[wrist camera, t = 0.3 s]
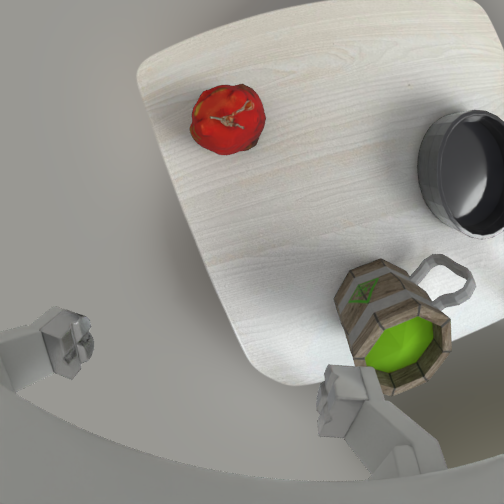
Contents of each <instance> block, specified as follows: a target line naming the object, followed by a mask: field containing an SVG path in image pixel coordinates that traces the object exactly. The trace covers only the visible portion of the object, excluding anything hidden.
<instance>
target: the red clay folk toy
mask: <svg viewBox="0 0 504 504" xmlns="http://www.w3.org/2000/svg"><path fill="white" fill-rule="evenodd" d="M265 120H266V116H265V113H264V108H263V105H262V102H261V100H260V98H259V96H258V95H257V93H256V92H255V91H254V90H253V89H252V88H250V87H248V86H246V85H244V84H239V85H235V86H230V85H220V86H217V87H214V88H212V89H210V90H206V91H204V92H203V93H202V94H201V95H200V97H199V99H198V101H197V103H196V104H195V106H194V108H193V112H192V124H191V126H190V133H191V135H192V137H193V139H194V140H195V141H196V142H197V143H198V144H199V145H201V146H202V147H204V148H206V149H208V150H210V151H213V152H215V153H217V154H220V155H230V154H234V153H237V152H239V151H247V150H249V149H251V148H252V147H254V146H256V144H257V142H258V140H259V136H260V134H261V132H262V130H263V128H264V125H265Z"/></svg>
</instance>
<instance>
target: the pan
mask: <svg viewBox="0 0 504 504" xmlns="http://www.w3.org/2000/svg"><path fill="white" fill-rule="evenodd" d="M418 178H419V184H420V188H421V192H422V194H423V197H424V199H425V201H426V203H427V205H428V207H429V208H430V210H431V211H432V212H433V214H434V215H435V216H436V217H437V218H438V219H439V220H441V221H442V222H444V223H445V224H447V225H449V226H451V227H452V228H454V229H456V230H458V231H460V232H462V233H464V234H465V235H467V236H469V237H472V238H477V239H486V238H492V237H494V236H496V235H498V234H500V233H501V232H503V231H504V122H503V121H502V120H501V119H500V118H499V117H498V116H496V115H494V114H492V113H489V112H487V111H482V110H470V111H463V112H457V113H453V114H449V115H446V116H443V117H441V118H440V119H438V120H437V121H436V122H435V123H434V124H433V125H432V126H431V127H430V128H429V129H428V131H427V133H426V134H425V136H424V138H423V141H422V143H421V147H420V150H419V156H418Z"/></svg>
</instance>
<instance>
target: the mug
mask: <svg viewBox="0 0 504 504" xmlns="http://www.w3.org/2000/svg"><path fill="white" fill-rule="evenodd" d="M437 265H444V266H446V267H447V268H449V269H450V270H451V271H453V272H454V273H455V274H457V275H459V276H461V277H463V278H465V279H466V280H467V281H466V283H465V285H464V287H463V288H462V289H460V290H458V291H456V292H455V293H449V294H444V295H442V296H439V297H438V298H437V299H435V300H434V301H433V302H432V300H431V299H430V297H429V296H428V294H427V293H426V291H424V290H423V289H422V288H420V287H419V286H418V284H419V283H420V282H421V281H422V280H423V278H424V277H425V276H426V275H427V273H428V272H429V271H430V269H432V268H433V267H435V266H437ZM475 288H476V284H475V281H474V278H473V276H472V274H471V272H470V271H469V269H468V268H466V267H464V266H462V265H460V264H458V263H456V262H454V261H453V260H451V259H450V258H448V257H447V256H445V255H443V254H432V255H431V256H429V257H427V258H426V259H424V260H423V262H422V263H421V264H420V266H419V267H418V268H417V269H416V270H415V271H414V273H413V274H412V275H411V276H409V274H408V273H407V271H405V270H403V269H401V268H399V267H397V266H395V265H393V264H391V263H389V262H387V261H385V260H383V259H378V260H376V261H373V262H371V263H368V264H365V265H363V266H360V267H357V268H355V269H352V270H350V271H349V272H348V274H347V276H346V278H345V280H344V282H343V283H342V285H341V287H340V289H339V290H338V292H337V294H336V296H335V297H334V302H335V305H336V308H337V311H338V314H339V318H340V321H341V324H342V326H343V328H344V331H345V334H346V338H347V341H348V344H349V348H350V351H351V354H352V356H353V360H354V364H355V366H356V367H358V366H365V367H373V368H374V369H375V372H376V375H377V378H378V381H379V383H380V387H381V390H382V393H383V394H386V395H390V396H394V395H396V394H399V393H401V392H404V391H406V390H409V389H411V388H414V387H416V386H418V385H421V384H423V383H425V382H428V381H429V379H430V378H431V377H432V376H433V374H434V373H435V372H436V371H437V369H438V368H439V367H440V366H441V364H442V363H443V362H444V360H445V359H446V357H447V356H448V355H449V353H450V352H451V350H452V349H451V319H450V318H449V317H448V316H446V315H445V314H444V313H443V312H441V311H442V310H443V309H444V308H446V307H450V306H456V305H460V304H461V303H463V302H465V301H466V300H468V299H470V297H471V295H472V293H473V291H474V290H475Z"/></svg>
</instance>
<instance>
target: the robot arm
mask: <svg viewBox="0 0 504 504" xmlns="http://www.w3.org/2000/svg"><path fill="white" fill-rule="evenodd" d="M90 328H91V324H90V320H89V319H88V318H87V317H86V316H83V315H80V314H77V313H75V312H72V311H69V310H65V309H62V308H60V307H57V306H55V307H52V308H51V309H49V310H48V311H47V312H45V313H44V314H43V315H42V316H41V317H39V318H38V319H37V320H36V321H35V322H33V323H32V324H31V325H30V326H27V325H25V326H20V327H17V328H13V329H9V330H5V331H1V332H0V504H504V454H501V455H498V456H495V457H492V458H488V459H485V460H482V461H478V462H475V463H471V464H467V465H463V466H459V467H455V468H450V469H448V468H447V466H446V462H445V459H444V457H443V454H442V451H441V448H440V445H439V443H438V441H437V440H436V439H435V438H434V437H433V436H431V435H430V434H429V433H428V432H426V431H425V430H424V429H423V428H421V427H420V426H419V425H418V424H417V423H415V422H414V421H413V420H412V419H411V418H409V417H408V416H407V415H406V414H404V413H403V412H402V411H401V410H400V409H398V408H397V407H396V406H395V405H393V404H392V403H391V402H390V401H385V399H384V396H383V393H382V390H381V387H380V383H379V381H378V378H377V375H376V372H375V369H374V368H373V367H365V366H358V367H356V366H342V365H330V364H328V366H327V368H326V370H325V373H324V376H325V381H324V382H322V383H321V384H320V387H319V390H318V395H317V403H316V407H317V411H318V412H319V414H320V416H319V418H318V421H317V422H318V436H322V437H337V438H344V440H345V441H346V442H347V444H348V445H349V446H350V448H351V449H352V450H353V452H354V453H355V454H356V455H357V457H358V458H359V459H360V461H361V462H362V463H363V464H364V466H365V467H366V468H367V470H368V471H369V472H370V473H371V476H370V477H369V478H368V480H361V481H301V480H285V479H273V478H264V477H255V476H247V475H240V474H234V473H228V472H222V471H217V470H212V469H207V468H202V467H197V466H193V465H189V464H185V463H181V462H177V461H173V460H169V459H165V458H161V457H158V456H155V455H152V454H149V453H145V452H142V451H139V450H136V449H133V448H130V447H127V446H125V445H122V444H119V443H116V442H114V441H111V440H108V439H106V438H104V437H101V436H99V435H96V434H93V433H91V432H89V431H87V430H85V429H82V428H80V427H77V426H76V425H73V424H71V423H69V422H67V421H65V420H63V419H61V418H59V417H57V416H55V415H53V414H51V413H49V412H47V411H45V410H44V409H42V408H40V407H38V406H36V405H34V404H33V403H31V402H29V401H28V400H26V399H24V398H22V397H21V396H19V395H17V394H16V392H18V391H19V390H22V389H24V388H26V387H28V386H30V385H32V384H34V383H36V382H38V381H40V380H42V379H44V378H46V377H48V376H50V375H52V374H54V373H56V374H59V375H61V376H64V377H66V378H69V379H71V380H72V379H73V378H74V377H75V376H76V374H77V373H78V372H79V371H80V370H81V364H82V363H84V362H87V361H88V360H89V359H90V357H91V355H92V353H93V350H94V341H93V337H92V335H91V334H90V333H89V330H90Z"/></svg>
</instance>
